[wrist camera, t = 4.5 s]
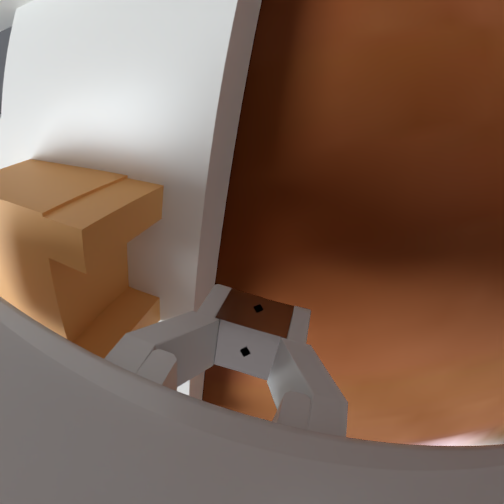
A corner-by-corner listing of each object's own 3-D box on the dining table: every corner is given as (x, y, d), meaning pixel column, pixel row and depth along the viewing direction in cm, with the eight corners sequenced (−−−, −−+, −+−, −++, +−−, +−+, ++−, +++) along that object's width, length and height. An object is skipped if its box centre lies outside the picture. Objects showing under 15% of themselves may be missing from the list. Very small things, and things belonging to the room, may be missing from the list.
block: (30, 159, 11) (-40, 185, 7) (163, 182, 10) (81, 225, 6) (43, 271, 14) (-9, 310, 10) (160, 322, 12) (109, 387, 9)
